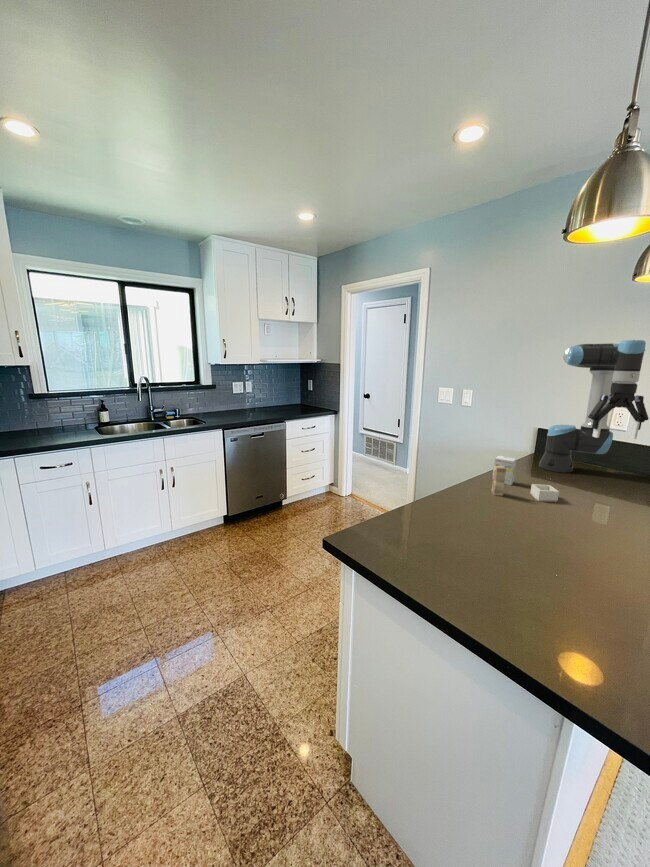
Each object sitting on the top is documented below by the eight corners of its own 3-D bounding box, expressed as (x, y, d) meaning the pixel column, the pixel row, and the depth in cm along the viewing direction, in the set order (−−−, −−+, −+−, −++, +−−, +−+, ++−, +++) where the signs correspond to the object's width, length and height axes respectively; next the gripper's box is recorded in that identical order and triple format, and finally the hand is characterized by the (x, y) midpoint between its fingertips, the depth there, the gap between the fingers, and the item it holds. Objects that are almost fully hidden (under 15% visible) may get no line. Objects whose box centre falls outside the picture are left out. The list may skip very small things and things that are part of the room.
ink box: (491, 481, 166) (494, 457, 164) (494, 478, 170) (496, 455, 168) (511, 485, 161) (514, 460, 159) (513, 482, 165) (516, 458, 162)
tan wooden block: (491, 492, 153) (494, 465, 150) (499, 492, 153) (502, 466, 150) (494, 495, 150) (497, 468, 147) (502, 495, 149) (506, 468, 147)
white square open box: (530, 494, 151) (531, 484, 150) (548, 495, 150) (550, 485, 149) (538, 500, 144) (539, 490, 143) (557, 501, 143) (559, 491, 142)
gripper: (596, 382, 129) (586, 438, 133) (669, 383, 127) (656, 440, 131) (583, 381, 136) (574, 434, 141) (651, 382, 134) (640, 436, 139)
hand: (614, 437), depth 136 cm, fingers open, 13 cm apart
